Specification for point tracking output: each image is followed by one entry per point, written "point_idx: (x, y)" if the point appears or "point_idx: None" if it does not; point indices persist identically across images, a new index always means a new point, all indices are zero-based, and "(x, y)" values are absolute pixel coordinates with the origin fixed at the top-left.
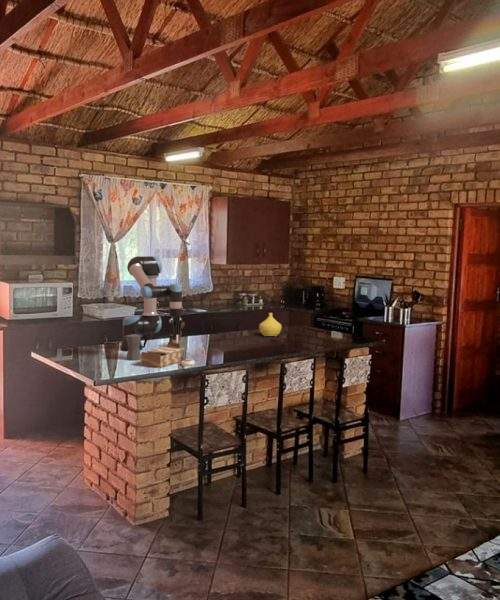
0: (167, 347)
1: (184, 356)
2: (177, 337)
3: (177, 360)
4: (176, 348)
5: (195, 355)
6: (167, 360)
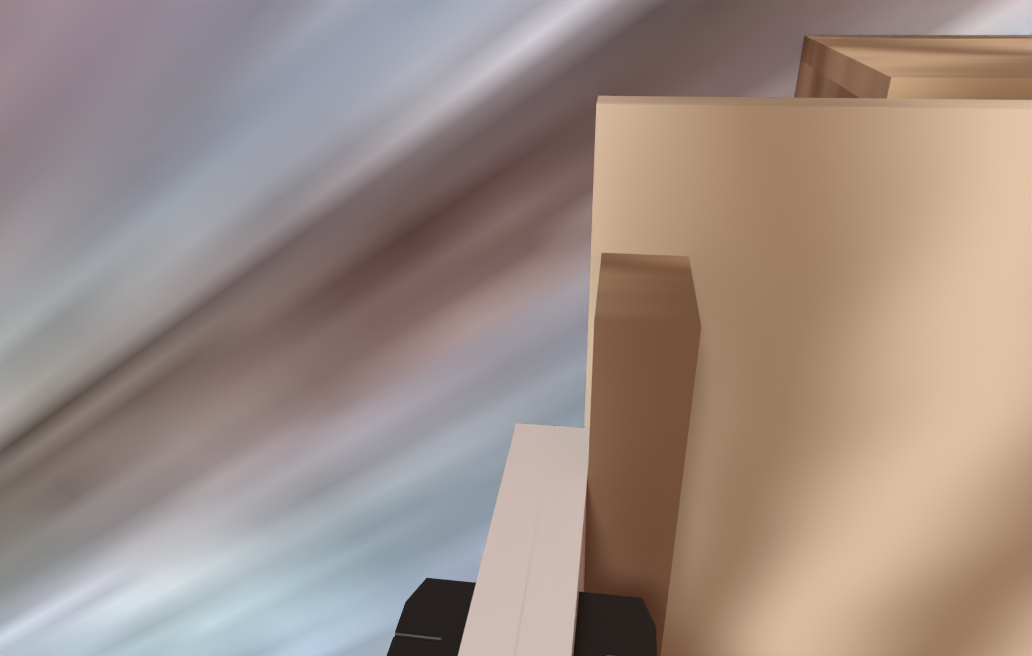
0: (739, 567)
1: (252, 297)
2: (514, 643)
3: (954, 43)
4: (780, 304)
5: (40, 174)
6: None
